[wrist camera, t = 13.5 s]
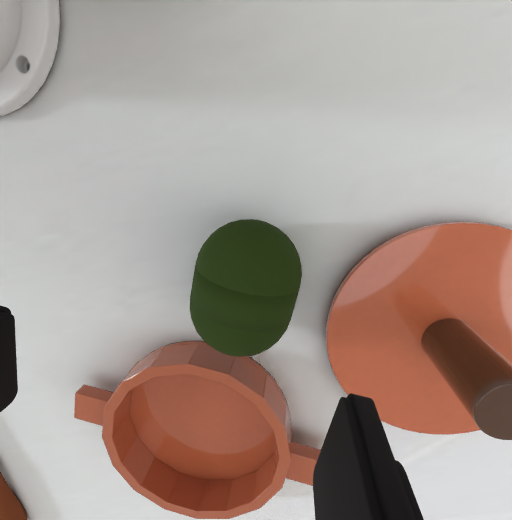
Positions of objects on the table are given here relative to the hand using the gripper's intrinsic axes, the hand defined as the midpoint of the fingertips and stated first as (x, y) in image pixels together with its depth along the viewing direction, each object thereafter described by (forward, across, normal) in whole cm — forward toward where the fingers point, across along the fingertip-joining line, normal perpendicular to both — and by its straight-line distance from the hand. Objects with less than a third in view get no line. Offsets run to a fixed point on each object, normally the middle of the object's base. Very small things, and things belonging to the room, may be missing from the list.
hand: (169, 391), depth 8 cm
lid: (+12, -14, +2) cm, 18 cm away
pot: (+12, 0, +14) cm, 18 cm away
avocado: (+12, -1, +1) cm, 13 cm away
